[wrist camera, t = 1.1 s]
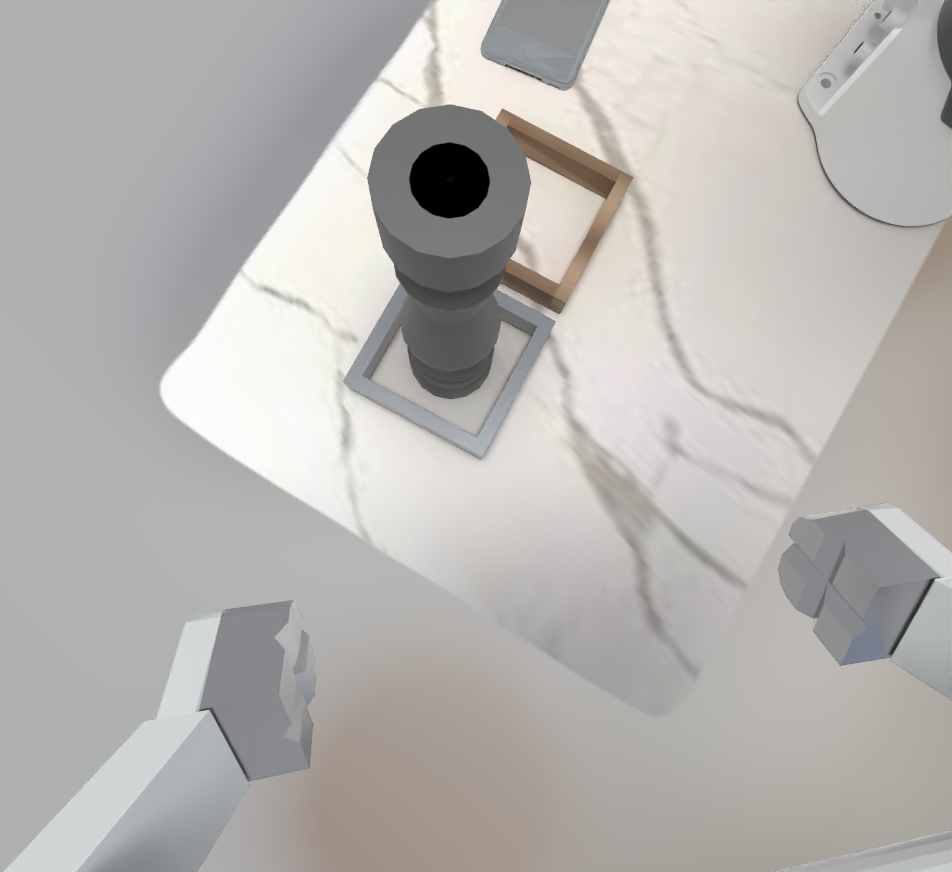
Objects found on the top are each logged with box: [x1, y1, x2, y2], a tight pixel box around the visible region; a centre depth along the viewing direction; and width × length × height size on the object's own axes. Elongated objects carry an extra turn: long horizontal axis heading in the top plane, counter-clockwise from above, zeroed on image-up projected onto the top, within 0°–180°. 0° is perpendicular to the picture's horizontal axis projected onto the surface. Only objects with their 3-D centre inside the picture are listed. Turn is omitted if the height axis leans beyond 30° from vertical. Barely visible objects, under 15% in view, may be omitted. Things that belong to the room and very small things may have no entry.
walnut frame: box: [496, 109, 633, 314], centre depth 46 cm, size 11×11×2 cm
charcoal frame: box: [343, 283, 556, 459], centre depth 44 cm, size 11×11×2 cm
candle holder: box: [367, 105, 531, 399], centre depth 33 cm, size 6×6×25 cm
